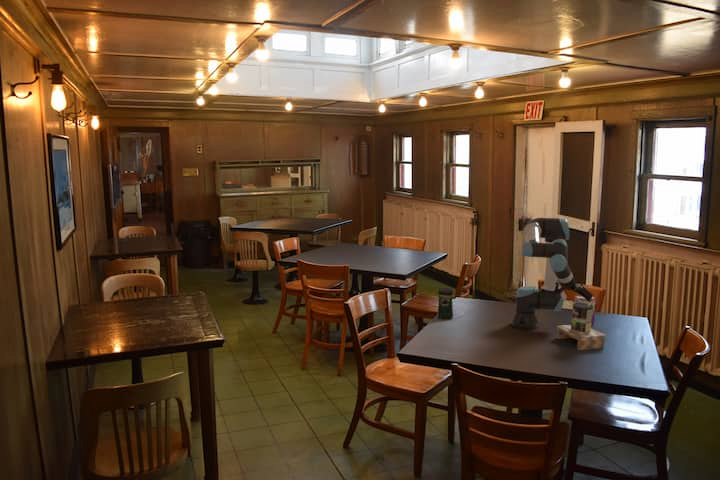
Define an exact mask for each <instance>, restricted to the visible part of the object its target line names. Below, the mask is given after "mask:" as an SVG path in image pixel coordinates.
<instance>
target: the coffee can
mask: <svg viewBox="0 0 720 480" xmlns="http://www.w3.org/2000/svg"><path fill="white" fill-rule="evenodd" d="M592 311H593V306H592V305H590V307H589V306H588V305H587V304H586V303H575V302H574V303H572V313H571V324H570V325H571V330H572V331H574V332H577V333H590V332H591V329H592V325H591V321H592Z"/></svg>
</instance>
